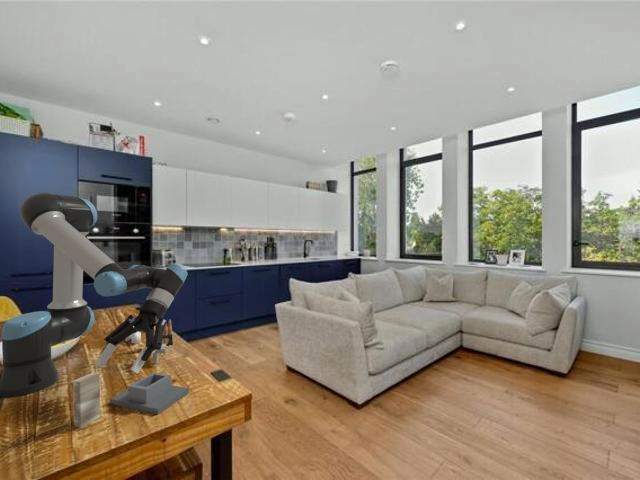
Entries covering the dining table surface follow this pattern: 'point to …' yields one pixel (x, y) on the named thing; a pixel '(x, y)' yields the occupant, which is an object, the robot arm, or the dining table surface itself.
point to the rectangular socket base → (150, 394)
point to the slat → (86, 399)
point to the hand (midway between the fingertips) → (115, 369)
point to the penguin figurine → (134, 337)
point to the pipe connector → (155, 352)
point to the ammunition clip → (167, 334)
